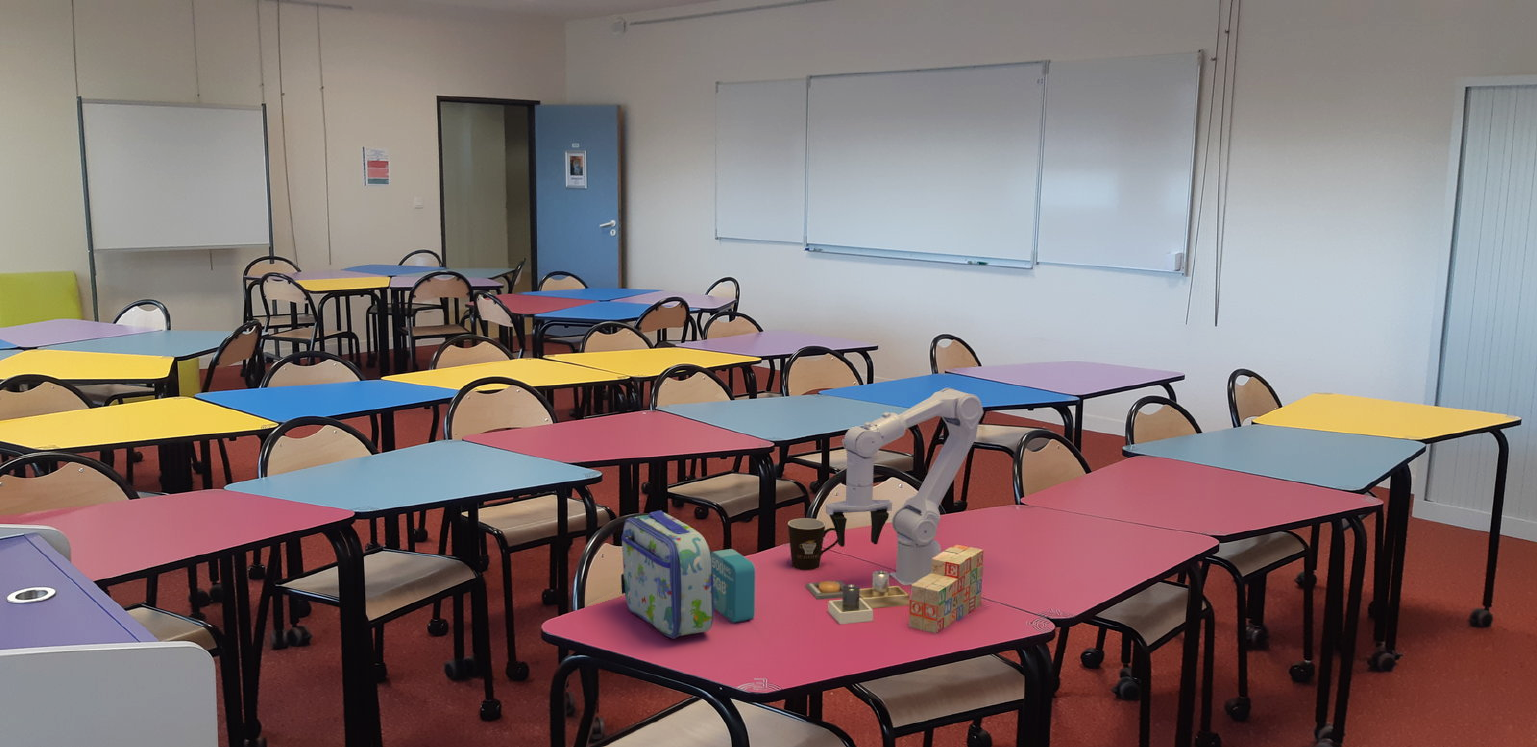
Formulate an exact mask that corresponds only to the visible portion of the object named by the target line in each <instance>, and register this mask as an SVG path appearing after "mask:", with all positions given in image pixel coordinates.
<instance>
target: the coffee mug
mask: <svg viewBox="0 0 1537 747" xmlns="http://www.w3.org/2000/svg"><path fill="white" fill-rule="evenodd" d="M787 526H788V527H787V528H788V537H789V538H788V539H789V548H790V559H791V566H792V567H793V568H794V569H796V570H800V571H801V570H802V571H812V570H816V569H819V568H820V565H821V559H822V558H821V557H822V555H824V553H826V552H828V551H829V550H831V549H832V548H833V547H835V546H836V545H837V544H838V539H836V540H835V541H834V542H833V543H832V544H831V545H829V546H827V547H825V548H824V549H823V544H824V538H825V536H826V535H827V534H828V532H830V531H831V532H832V531H834V532H836V531H835V527H829V528H827V529H826V522H825V521H822V520H821V519H816V518H809V517H808V518H805V517H804V518H795V519H791V520H789V521H788V522H787Z"/></svg>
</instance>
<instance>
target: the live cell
mask: <svg viewBox="0 0 1537 747" xmlns="http://www.w3.org/2000/svg"><path fill="white" fill-rule="evenodd" d="M871 584H872V585H871V586H872V587H871V588H872V597H882V596H888V593H889V587H890V573H889V572H888V571H884V570H881V569H879V570H875V571H873V572H872V583H871Z"/></svg>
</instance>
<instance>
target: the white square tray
mask: <svg viewBox="0 0 1537 747" xmlns="http://www.w3.org/2000/svg"><path fill="white" fill-rule="evenodd" d="M827 605H828V609H827V610H828V611H827V612H828V613H829V614H830V616H832V617H833V619H834V620H835V621H836V622H837V623H838V624H839V625H849V624H857V623H868V622H874V609H873V608H870V607H869V606H868V605H867V604H866V603H865V602H864V601H863V600H862V599H861V598H859V611H849V612H842V599H836V600H833V599H832V600H829V601H828V604H827Z"/></svg>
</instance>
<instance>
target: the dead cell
mask: <svg viewBox="0 0 1537 747" xmlns="http://www.w3.org/2000/svg"><path fill="white" fill-rule="evenodd" d="M860 589H861V588H860V587H859V586H858V585H855V584H845V586H843V595H842V599H841V600H842V612H849V611H859V593H860Z"/></svg>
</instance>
